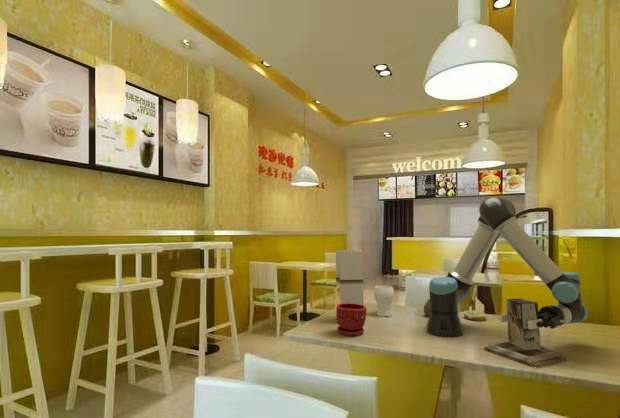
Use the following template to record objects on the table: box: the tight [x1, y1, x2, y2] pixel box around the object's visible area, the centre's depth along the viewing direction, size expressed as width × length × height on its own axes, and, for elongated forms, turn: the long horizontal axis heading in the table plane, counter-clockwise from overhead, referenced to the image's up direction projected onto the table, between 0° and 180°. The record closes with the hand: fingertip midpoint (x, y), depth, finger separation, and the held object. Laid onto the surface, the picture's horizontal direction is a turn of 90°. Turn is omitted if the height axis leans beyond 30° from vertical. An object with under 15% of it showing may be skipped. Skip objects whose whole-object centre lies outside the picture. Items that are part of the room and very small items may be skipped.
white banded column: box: [335, 249, 364, 320], centre depth 179 cm, size 11×11×35 cm
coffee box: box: [505, 298, 541, 350], centre depth 128 cm, size 9×6×16 cm
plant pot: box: [336, 303, 367, 336], centre depth 157 cm, size 13×13×12 cm
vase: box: [423, 298, 430, 318], centre depth 186 cm, size 7×7×9 cm
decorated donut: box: [462, 309, 487, 322], centre depth 181 cm, size 10×11×4 cm
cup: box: [373, 285, 395, 317], centre depth 190 cm, size 11×11×15 cm
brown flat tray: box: [483, 340, 568, 369], centre depth 127 cm, size 20×16×2 cm
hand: (514, 321), depth 126 cm, fingers closed on coffee box, 10 cm apart
